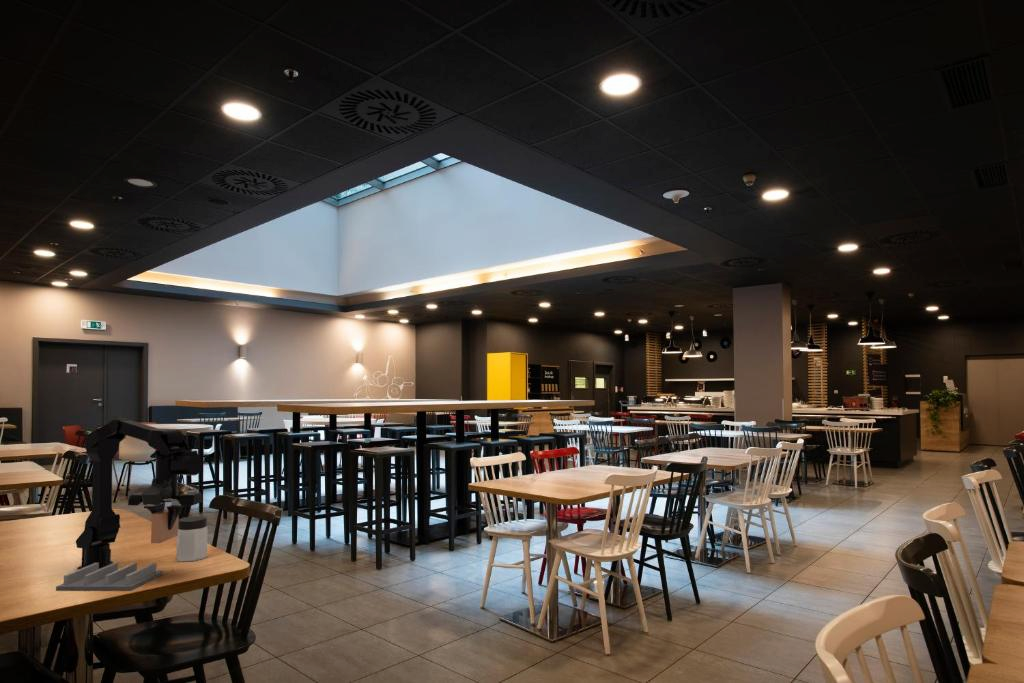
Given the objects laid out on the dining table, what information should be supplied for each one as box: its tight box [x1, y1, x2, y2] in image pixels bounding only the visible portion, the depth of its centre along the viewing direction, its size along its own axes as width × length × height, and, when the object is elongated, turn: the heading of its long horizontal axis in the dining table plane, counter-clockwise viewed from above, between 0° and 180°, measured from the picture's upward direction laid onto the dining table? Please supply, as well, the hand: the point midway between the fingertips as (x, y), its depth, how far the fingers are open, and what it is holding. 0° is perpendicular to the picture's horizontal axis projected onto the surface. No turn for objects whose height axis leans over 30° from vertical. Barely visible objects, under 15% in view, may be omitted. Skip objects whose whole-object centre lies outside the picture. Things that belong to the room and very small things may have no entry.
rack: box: [55, 562, 164, 592], centre depth 171 cm, size 20×14×4 cm
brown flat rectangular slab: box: [150, 508, 180, 544], centre depth 179 cm, size 2×9×8 cm, turn 178°
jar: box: [175, 515, 208, 563], centre depth 195 cm, size 9×8×12 cm
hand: (164, 529), depth 179 cm, fingers closed on brown flat rectangular slab, 2 cm apart
